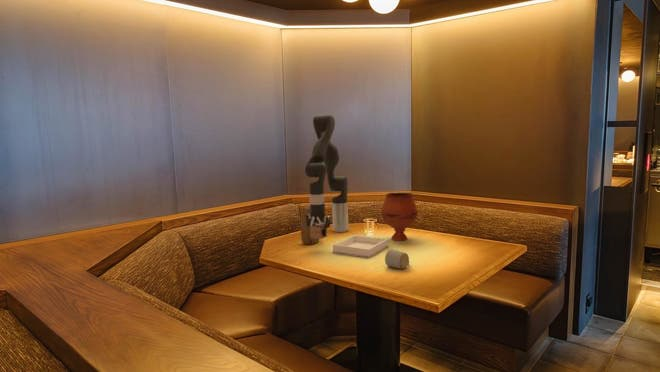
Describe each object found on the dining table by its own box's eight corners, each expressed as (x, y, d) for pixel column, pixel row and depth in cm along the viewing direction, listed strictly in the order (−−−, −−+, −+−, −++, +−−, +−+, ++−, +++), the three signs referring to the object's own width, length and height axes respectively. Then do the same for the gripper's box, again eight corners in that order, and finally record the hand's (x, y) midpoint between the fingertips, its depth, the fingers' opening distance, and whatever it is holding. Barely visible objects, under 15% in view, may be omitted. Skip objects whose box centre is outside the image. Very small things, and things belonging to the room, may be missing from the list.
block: (311, 245, 224) (309, 208, 222) (299, 243, 229) (298, 207, 226) (323, 241, 233) (321, 205, 231) (312, 239, 237) (310, 204, 235)
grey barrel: (400, 271, 178) (400, 253, 177) (384, 267, 184) (384, 250, 183) (414, 265, 186) (414, 248, 185) (398, 262, 192) (398, 245, 191)
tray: (354, 242, 228) (354, 235, 228) (388, 246, 218) (388, 238, 217) (332, 252, 210) (332, 244, 209) (369, 257, 199) (369, 249, 199)
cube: (317, 235, 219) (316, 223, 218) (326, 236, 216) (326, 224, 215) (310, 237, 214) (309, 226, 213) (320, 239, 211) (319, 227, 210)
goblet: (422, 236, 235) (422, 192, 232) (409, 245, 219) (409, 197, 216) (390, 233, 245) (390, 190, 242) (376, 241, 229) (375, 195, 226)
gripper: (333, 202, 212) (334, 235, 214) (309, 200, 219) (311, 232, 221) (325, 205, 205) (326, 238, 208) (301, 203, 213) (302, 235, 215)
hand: (318, 235), depth 215 cm, fingers closed on cube, 6 cm apart
